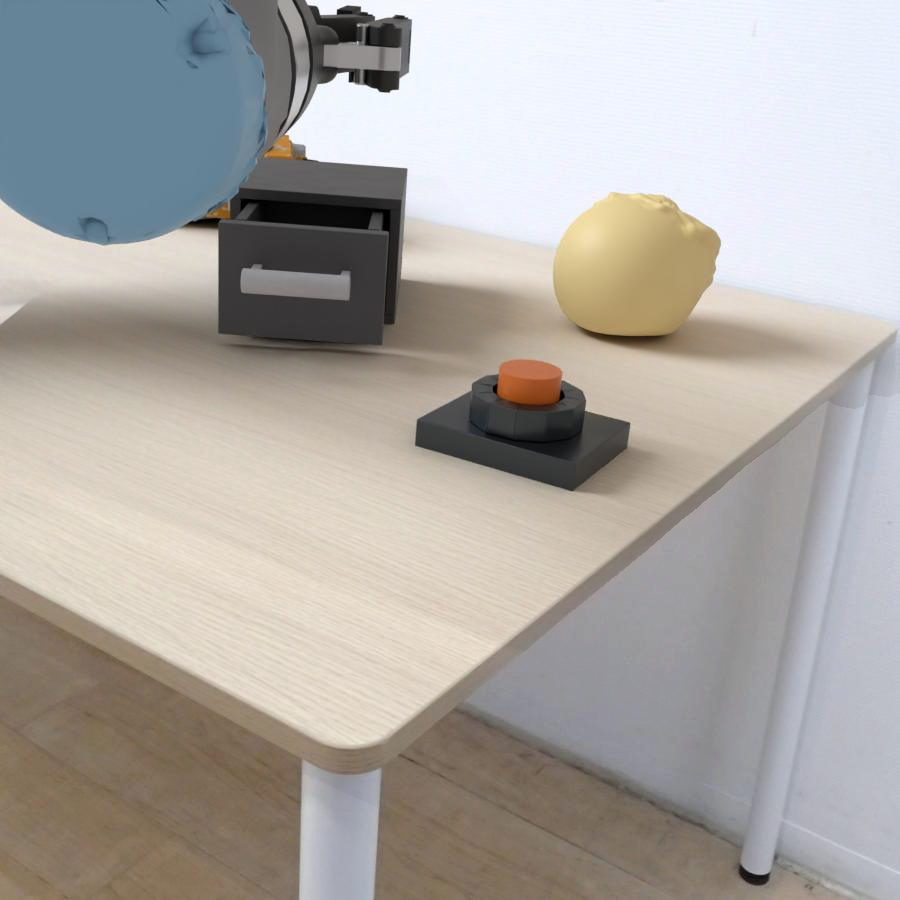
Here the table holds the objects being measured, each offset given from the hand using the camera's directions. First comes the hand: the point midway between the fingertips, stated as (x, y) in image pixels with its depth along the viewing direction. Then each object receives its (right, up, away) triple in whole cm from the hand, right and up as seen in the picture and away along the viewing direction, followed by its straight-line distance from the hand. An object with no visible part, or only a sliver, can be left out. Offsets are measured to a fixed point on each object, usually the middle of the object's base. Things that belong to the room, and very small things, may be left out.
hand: (286, 27), depth 63 cm
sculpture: (+23, -13, +31) cm, 40 cm away
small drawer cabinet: (-2, -10, +33) cm, 35 cm away
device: (-14, +2, +61) cm, 63 cm away
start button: (+13, -20, +4) cm, 24 cm away
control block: (+13, -23, +6) cm, 27 cm away
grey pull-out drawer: (-2, -13, +23) cm, 27 cm away
